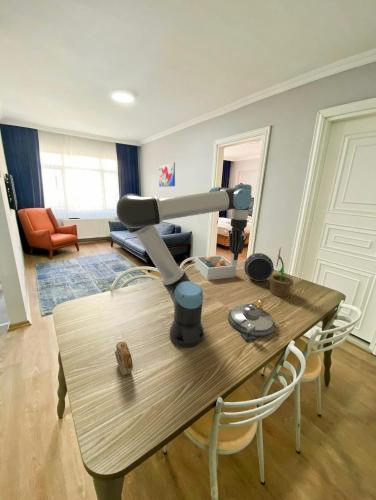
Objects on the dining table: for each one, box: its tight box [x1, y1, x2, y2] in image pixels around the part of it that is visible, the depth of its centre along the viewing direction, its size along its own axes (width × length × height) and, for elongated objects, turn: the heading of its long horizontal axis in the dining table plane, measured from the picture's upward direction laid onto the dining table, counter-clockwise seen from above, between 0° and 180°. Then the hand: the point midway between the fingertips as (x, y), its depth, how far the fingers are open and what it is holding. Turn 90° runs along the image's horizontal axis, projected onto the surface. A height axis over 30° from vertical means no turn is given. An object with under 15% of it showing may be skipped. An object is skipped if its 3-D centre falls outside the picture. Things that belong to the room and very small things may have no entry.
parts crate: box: [194, 255, 237, 281], centre depth 162 cm, size 23×24×9 cm
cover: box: [243, 303, 261, 320], centre depth 102 cm, size 8×8×6 cm
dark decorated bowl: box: [244, 252, 275, 282], centre depth 151 cm, size 11×20×20 cm, turn 78°
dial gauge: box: [240, 323, 257, 342], centre depth 92 cm, size 5×4×8 cm
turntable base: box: [227, 310, 276, 339], centre depth 104 cm, size 22×22×2 cm
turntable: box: [230, 299, 274, 332], centre depth 102 cm, size 20×20×6 cm
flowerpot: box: [268, 247, 294, 298], centre depth 131 cm, size 14×14×30 cm
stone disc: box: [114, 341, 134, 376], centre depth 73 cm, size 10×4×10 cm, turn 35°
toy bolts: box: [204, 256, 227, 268], centre depth 163 cm, size 18×17×12 cm
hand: (233, 265), depth 105 cm, fingers closed
